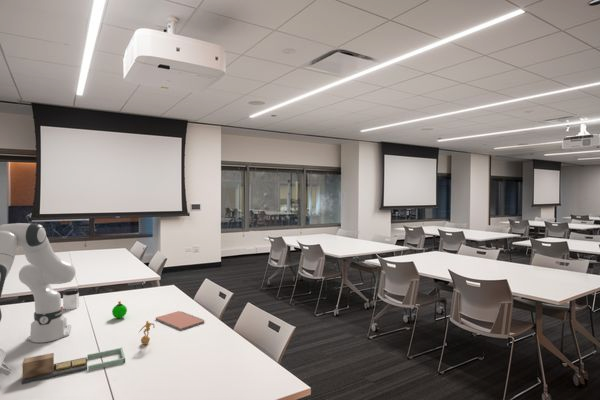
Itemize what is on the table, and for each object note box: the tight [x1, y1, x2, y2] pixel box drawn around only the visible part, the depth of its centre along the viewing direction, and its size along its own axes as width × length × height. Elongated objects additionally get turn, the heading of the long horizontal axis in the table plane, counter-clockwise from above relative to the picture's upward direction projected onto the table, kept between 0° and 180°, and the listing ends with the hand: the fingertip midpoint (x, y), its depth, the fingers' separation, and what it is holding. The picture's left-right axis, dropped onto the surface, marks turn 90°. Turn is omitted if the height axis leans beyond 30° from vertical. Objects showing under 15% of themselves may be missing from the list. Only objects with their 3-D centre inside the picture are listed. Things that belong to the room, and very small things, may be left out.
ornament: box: [111, 300, 128, 319], centre depth 218 cm, size 8×8×10 cm
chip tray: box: [86, 347, 126, 371], centre depth 160 cm, size 14×13×3 cm
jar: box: [62, 287, 80, 311], centre depth 237 cm, size 9×8×12 cm
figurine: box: [138, 320, 155, 345], centre depth 180 cm, size 8×6×12 cm
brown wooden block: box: [21, 352, 55, 379], centre depth 147 cm, size 10×5×7 cm, turn 122°
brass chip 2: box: [72, 357, 86, 368], centre depth 155 cm, size 5×5×2 cm
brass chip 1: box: [56, 360, 71, 371], centre depth 152 cm, size 5×5×2 cm
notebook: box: [155, 310, 205, 331], centre depth 213 cm, size 27×17×2 cm, turn 51°
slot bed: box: [21, 356, 88, 385], centre depth 150 cm, size 22×11×2 cm, turn 122°
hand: (9, 372), depth 142 cm, fingers closed
